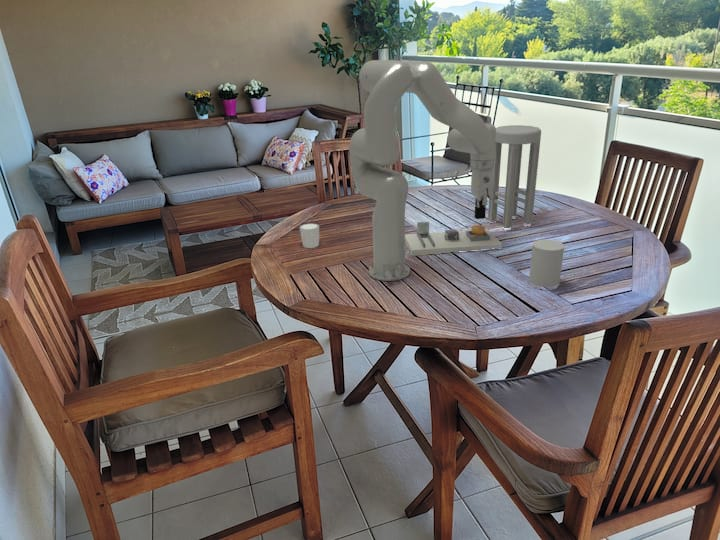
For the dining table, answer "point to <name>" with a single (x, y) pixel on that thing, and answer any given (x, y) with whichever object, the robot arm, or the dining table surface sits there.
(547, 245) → the cup
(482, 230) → the push button
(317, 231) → the shot glass
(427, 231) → the grey slider handle
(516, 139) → the stool
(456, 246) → the switch panel
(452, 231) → the rocker switch
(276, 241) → the dining table surface
